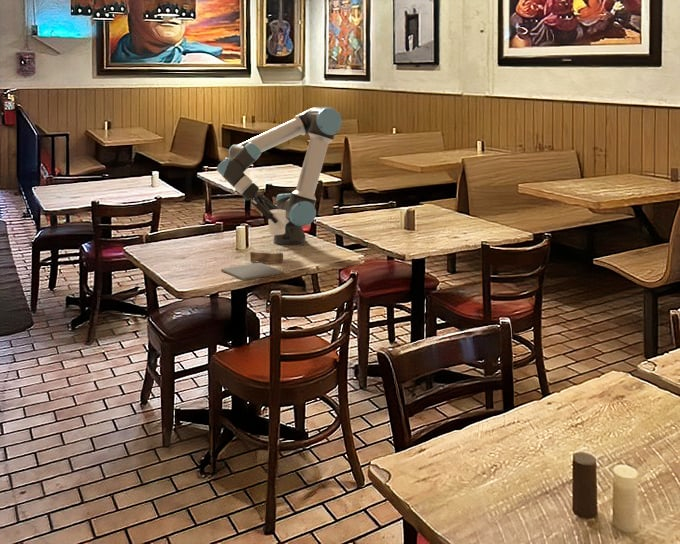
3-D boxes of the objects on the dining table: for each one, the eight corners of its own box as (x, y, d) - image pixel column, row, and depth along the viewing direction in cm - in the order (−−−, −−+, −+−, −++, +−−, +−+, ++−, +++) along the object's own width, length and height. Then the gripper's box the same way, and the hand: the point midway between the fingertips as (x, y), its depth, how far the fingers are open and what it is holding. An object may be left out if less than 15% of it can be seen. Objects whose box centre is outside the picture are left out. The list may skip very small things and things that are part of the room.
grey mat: (259, 264, 314) (259, 262, 314) (283, 273, 300) (282, 271, 300) (221, 270, 304) (221, 269, 303) (243, 280, 290) (243, 278, 289)
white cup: (266, 232, 330) (265, 210, 327) (283, 231, 333) (282, 208, 330) (271, 236, 323) (270, 213, 320) (289, 234, 326) (288, 211, 323)
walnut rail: (250, 261, 319) (250, 252, 318) (252, 260, 321) (252, 251, 320) (281, 263, 315) (281, 254, 314) (283, 262, 317) (282, 253, 316)
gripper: (247, 190, 336) (284, 226, 337) (234, 198, 316) (273, 236, 318) (258, 178, 333) (295, 215, 335) (246, 185, 314) (285, 224, 316)
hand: (284, 225), depth 326 cm, fingers closed on white cup, 8 cm apart
